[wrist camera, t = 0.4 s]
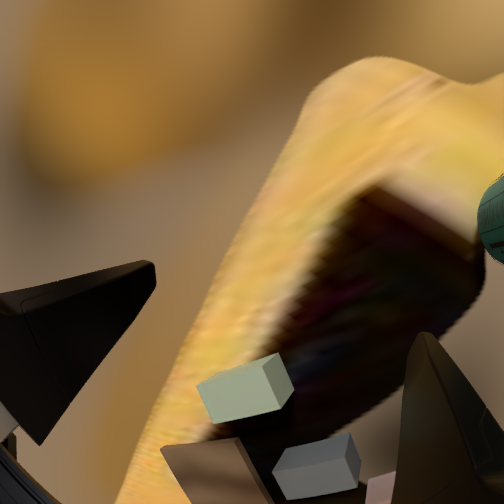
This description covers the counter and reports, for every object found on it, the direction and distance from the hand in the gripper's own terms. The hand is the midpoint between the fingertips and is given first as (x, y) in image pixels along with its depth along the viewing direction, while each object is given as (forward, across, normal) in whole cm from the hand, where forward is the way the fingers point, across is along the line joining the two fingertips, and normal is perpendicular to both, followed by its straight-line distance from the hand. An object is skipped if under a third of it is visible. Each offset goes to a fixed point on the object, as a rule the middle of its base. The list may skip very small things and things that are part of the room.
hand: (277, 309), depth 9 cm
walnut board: (+3, +3, +27) cm, 27 cm away
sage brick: (+9, +2, +15) cm, 18 cm away
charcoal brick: (+6, -5, +20) cm, 21 cm away
